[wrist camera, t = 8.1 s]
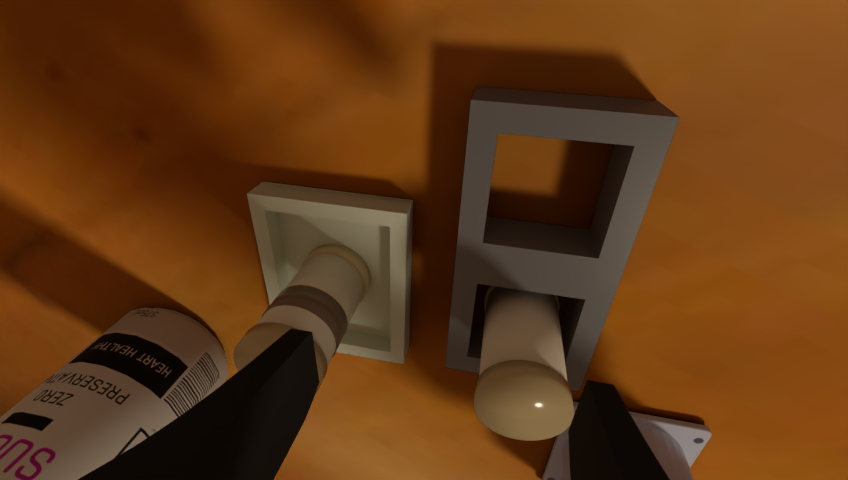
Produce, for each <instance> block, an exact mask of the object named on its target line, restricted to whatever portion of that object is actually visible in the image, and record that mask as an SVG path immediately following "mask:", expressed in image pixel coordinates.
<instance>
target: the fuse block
mask: <svg viewBox="0 0 848 480" xmlns="http://www.w3.org/2000/svg"><path fill="white" fill-rule="evenodd" d="M679 118H680V117H678V116H677V115H676V114H675V113H673V112H672V111H671V110H669V109H668V108H667V107H665V106H664V105H663V104H661V103H660V102H659V101H654V100H642V99H629V98H617V97H604V96H591V95H579V94H566V93H554V92H541V91H528V90H516V89H503V88H491V87H478V86H477V87H476V89H475V91H474V94H473V96H472V98H471V104H470V114H469V124H468V135H467V145H466V155H465V166H464V176H463V186H462V197H461V207H460V218H459V228H458V238H457V249H456V259H455V269H454V280H453V290H452V301H451V311H450V321H449V332H448V342H447V352H446V363H445V368H451V369H457V370H462V371H468V372H473V373H479V371H480V361H481V351H482V341H483V331H484V326H481V325H475V324H472V318H473V311H474V304H475V296H476V289H477V284H483V285H490V286H497V287H504V288H510V289H517V290H524V291H531V292H537V293H544V294H551V295H558V296H564V297H570V298H569V302H568V305H567V308H566V312H565V315H564V319H563V322H562V326H561V335H562V343H563V350H564V358H565V366H566V374H567V381H568V384H569V385H570V388H571V390H573V391H580V389H581V386H582V383H583V380H584V378H585V375H586V372H587V369H588V367H589V364H590V361H591V358H592V356H593V353H594V350H595V348H596V345H597V342H598V339H599V337H600V334H601V331H602V328H603V326H604V323H605V320H606V317H607V315H608V312H609V309H610V306H611V304H612V301H613V298H614V296H615V293H616V290H617V287H618V285H619V282H620V279H621V276H622V274H623V271H624V268H625V265H626V263H627V260H628V257H629V254H630V252H631V249H632V246H633V244H634V241H635V238H636V235H637V233H638V230H639V227H640V224H641V222H642V219H643V216H644V213H645V211H646V208H647V205H648V202H649V200H650V197H651V194H652V192H653V189H654V186H655V183H656V181H657V178H658V175H659V172H660V170H661V167H662V164H663V161H664V159H665V156H666V153H667V150H668V148H669V145H670V142H671V140H672V137H673V134H674V131H675V129H676V126H677V123H678V120H679ZM498 133H503V134H513V135H524V136H534V137H545V138H555V139H566V140H576V141H587V142H597V143H608V144H614V148H613V151H612V154H611V158H610V161H609V165H608V168H607V172H606V175H605V178H604V182H603V185H602V189H601V192H600V195H599V199H598V202H597V206H596V209H595V213H594V216H593V219H592V223H591V226H590V229H584V228H576V227H568V226H560V225H552V224H544V223H536V222H528V221H520V220H512V219H504V218H496V217H488V216H486V215H487V208H488V200H489V193H490V186H491V178H492V171H493V163H494V156H495V149H496V141H497V134H498Z"/></svg>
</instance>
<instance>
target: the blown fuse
mask: <svg viewBox="0 0 848 480" xmlns="http://www.w3.org/2000/svg"><path fill="white" fill-rule="evenodd" d="M370 284H371V273H370V270H369V267H368V265H367V264H366V262H365V261H364V259H363V258H362V257H361V256H360V255H359V254H357V253H356V252H355V251H353V250H351V249H350V248H347V247H345V246H342V245H338V244H324V245H320V246H318V247H316V248H315V249H313V250H312V251H311V253H310V254H309V255H308V256H307V258H306V259H305V260H304V261H303V263H302V265H301V268H300V270H299V271H298V272H297V273H296V275H295V276H294V277H293V278H292V280H291V281H290V282H289V284H288V285H287V286H286V287H285V289H284V290H282V291H281V292H280V293H279V294H278V296H277V297H276V298H275V300H274V301H273V302H272V303H271V305H270V306H269V307H268V308H267V310H266V311H265V312H264V314H263V315H262V317H261V319H260V320H259V322H258V323H257V324H256V325H255V326H253V327H252V328H250V329H249V330H248V332H247V333H246V334H245V335H244V337H243V338H242V339H241V340H240V342H239V343H238V344H237V346H236V347H235V350H234V362H235V365H236V367H237V369H238V371H240V370H241V369H242V368H244V367H245V366H246V365H247V364H249V363H250V362H251V361H252V360H253V359H255V358H256V357H257V356H258V355H259V354H261V353H262V352H263V351H264V350H265V349H267V348H268V347H269V346H270V345H271V344H273V343H274V342H275V341H276V340H277V339H279V338H280V337H281V336H282V335H283V334H285V333H286V332H287V331H288V330H290V329H291V328H293V329H298V330H304V331H310V332H312V334H313V341H314V348H315V355H316V362H317V369H318V376H319V385H318V388H317V390H316V392H317V391H318V389H319V387H320V385H321V383H322V381H323V379H324V377H325V375H326V372H327V366H328V364H329V362H330V360H331V358H332V357H333V356H334V354H335V353H336V351H337V349H338V347H339V345H340V343H341V341H342V339H343V337H344V335H345V333H346V330H347V327H348V325H349V323H350V321H351V319H352V317H353V315H354V313H355V311H356V309H357V307H358V305H359V303H360V302H361V301H362V300H363V299H364V297H365V295H366V293H367V291H368V289H369V287H370Z"/></svg>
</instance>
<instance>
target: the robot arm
mask: <svg viewBox="0 0 848 480" xmlns="http://www.w3.org/2000/svg"><path fill="white" fill-rule="evenodd" d="M318 385H319V376H318V369H317V362H316V355H315V348H314V341H313V334H312V332H310V331H304V330H298V329H293V328H291V329H290V330H288V331H287V332H286V333H285V334H283V335H282V336H281V337H280V338H279V339H277V340H276V341H275V342H274V343H273V344H271V345H270V346H269V347H268V348H267V349H265V350H264V351H263V352H262V353H261V354H259V355H258V356H257V357H256V358H255V359H253V360H252V361H251V362H250V363H249V364H247V365H246V366H245V367H244V368H242V369H241V370H240V371H239V372H237V373H236V374H235V375H234V376H232V377H231V378H230V379H229V380H227V381H226V382H225V383H224V384H222V385H221V386H220V387H218V388H217V389H216V390H215V391H213V392H212V393H211V394H209V395H208V396H206V397H205V398H204V399H202V400H201V401H200V402H198V403H197V404H196V405H194V406H193V407H192V408H190V409H189V410H187V411H186V412H185V413H183V414H182V415H181V416H179V417H178V418H176V419H175V420H173V421H172V422H170V423H169V424H168V425H166V426H165V427H163V428H162V429H160V430H159V431H157V432H156V433H154V434H153V435H151V436H149V437H148V438H146V439H145V440H143V441H142V442H140V443H139V444H137V445H135V446H134V447H132V448H131V449H129V450H127V451H126V452H124V453H122V454H121V455H119V456H117V457H116V458H114V459H112V460H111V461H109V462H107V463H105V464H104V465H102V466H100V467H98V468H97V469H95V470H93V471H91V472H90V473H88V474H86V475H85V476H83V477H81V478H79V479H78V480H274V478H275V476H276V474H277V472H278V470H279V468H280V466H281V464H282V463H283V461H284V459H285V457H286V455H287V453H288V451H289V449H290V447H291V445H292V444H293V442H294V440H295V438H296V436H297V434H298V432H299V430H300V428H301V426H302V424H303V422H304V420H305V418H306V416H307V413H308V411H309V408H310V406H311V403H312V401H313V398H314V396H315V393H316V390H317V388H318ZM573 406H574V417H573V419H572V422H571V425H570V426H569V427H568V428H567V429H566V430H565V431H564V432H562V433H561V434H559V435H557V437H556V440H555V443H554V445H553V448H552V451H551V454H550V457H549V460H548V462H547V465H546V468H545V471H544V474H543V477H542V480H694V478H693V476H692V473H691V470H690V467H691V465H692V464H693V462H694V461H695V459H696V458H697V456H698V455H699V453H700V452H701V451H702V449H703V448H704V446H705V445H706V443H707V442H708V440H709V439H710V437H711V435H712V434H711V432H710V430H709V428H708V427H707V426H705V425H701V424H695V423H690V422H685V421H679V420H674V419H668V418H663V417H657V416H652V415H646V414H641V413H635V412H630V411H628V409H627V407H626V405H625V404H624V402H623V400H622V398H621V397H620V395H619V393H618V391H617V389H616V388H615V387H614V385H612V384H606V383H600V382H594V381H589V380H587V382H586V384H585V387H584V390H583V393H582V395H581V398H580V401H579V402H573Z"/></svg>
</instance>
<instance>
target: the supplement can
mask: <svg viewBox="0 0 848 480" xmlns="http://www.w3.org/2000/svg"><path fill="white" fill-rule="evenodd" d="M227 376H228V370H227V362H226V358H225V352H224V350H223V348H222V347H221V345H220V343H219V341H218V340H217V338H216V337H215V336H214V335H213V334H212V333H211V332H210V331H209V330H208V329H207V328H206V327H205V326H203V325H202V324H200V323H199V322H197V321H196V320H194V319H193V318H191V317H189V316H187V315H185V314H182V313H180V312H177V311H175V310H171V309H164V308H153V309H152V308H141V309H136V310H131V311H130V312H128V313H127V314H126V315H125V316H124V317H122V318H121V319H120V320H119V321H117V322H116V323H115V324H114V325H113V326H111V327H110V328H109V329H108V330H106V331H105V332H104V333H103V334H102V335H100V336H99V337H98V338H97V339H96V340H94V341H93V342H92V343H91V344H89V345H88V346H87V347H86V348H85V349H83V350H82V351H81V352H80V353H79V354H77V355H76V356H75V357H74V358H72V359H71V360H70V361H69V362H68V363H66V364H65V365H64V366H63V367H62V368H60V369H59V370H58V371H57V372H55V373H54V374H53V375H52V376H51V377H49V378H48V379H47V380H46V381H44V382H43V383H42V384H41V385H40V386H38V387H37V388H36V389H35V390H34V391H32V392H31V393H30V394H29V395H27V396H26V397H25V398H24V399H23V400H21V401H20V402H19V403H18V404H17V405H15V406H14V407H13V408H12V409H10V410H9V411H8V412H7V413H6V414H4V415H3V416H2V417H1V418H0V480H78V479H79V478H81V477H83V476H85V475H86V474H88V473H90V472H91V471H93V470H95V469H97V468H98V467H100V466H102V465H104V464H105V463H107V462H109V461H111V460H112V459H114V458H116V457H117V456H119V455H121V454H122V453H124V452H126V451H127V450H129V449H131V448H132V447H134V446H135V445H137V444H139V443H140V442H142V441H143V440H145V439H146V438H148V437H149V436H151V435H153V434H154V433H156V432H157V431H159V430H160V429H162V428H163V427H165V426H166V425H168V424H169V423H170V422H172V421H173V420H175V419H176V418H178V417H179V416H181V415H182V414H183V413H185V412H186V411H187V410H189V409H190V408H192V407H193V406H194V405H196V404H197V403H198V402H200V401H201V400H202V399H204V398H205V397H206V396H208V395H209V394H211V393H212V392H213V391H215V390H216V389H217V388H218V387H220V386H221V385H222V384H224V382H225V380H226V378H227Z"/></svg>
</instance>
